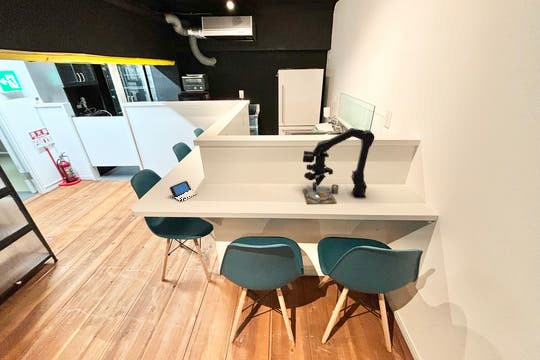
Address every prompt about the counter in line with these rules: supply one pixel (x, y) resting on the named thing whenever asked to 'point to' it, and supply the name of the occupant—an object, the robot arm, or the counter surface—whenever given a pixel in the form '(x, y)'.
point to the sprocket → (318, 193)
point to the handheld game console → (180, 189)
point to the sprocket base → (311, 201)
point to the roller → (334, 189)
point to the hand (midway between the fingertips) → (317, 185)
